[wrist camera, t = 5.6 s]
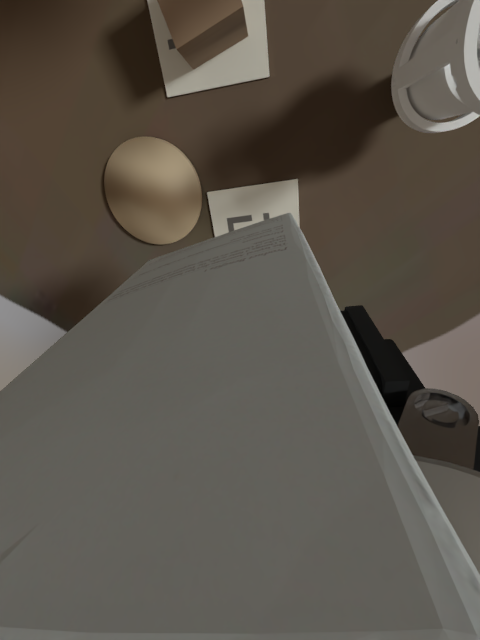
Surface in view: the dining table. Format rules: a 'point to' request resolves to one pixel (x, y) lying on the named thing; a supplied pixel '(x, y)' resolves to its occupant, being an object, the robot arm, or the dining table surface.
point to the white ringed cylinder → (440, 68)
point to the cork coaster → (153, 190)
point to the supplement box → (219, 468)
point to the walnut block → (204, 27)
